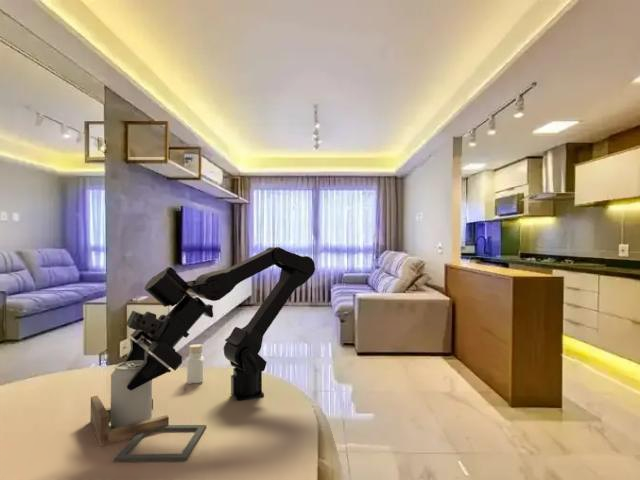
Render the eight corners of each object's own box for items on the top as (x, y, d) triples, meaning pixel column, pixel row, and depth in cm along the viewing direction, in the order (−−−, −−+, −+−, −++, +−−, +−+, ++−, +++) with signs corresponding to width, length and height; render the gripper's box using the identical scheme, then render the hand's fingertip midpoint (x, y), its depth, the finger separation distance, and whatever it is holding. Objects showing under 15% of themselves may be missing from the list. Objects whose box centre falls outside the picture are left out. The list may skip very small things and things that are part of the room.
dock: (151, 407, 86) (151, 384, 86) (168, 427, 76) (168, 401, 76) (90, 421, 79) (90, 396, 79) (100, 446, 69) (100, 417, 69)
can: (120, 436, 73) (120, 371, 73) (104, 424, 78) (104, 364, 78) (158, 422, 78) (159, 362, 79) (141, 412, 83) (142, 356, 84)
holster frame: (145, 428, 76) (145, 425, 76) (206, 427, 76) (206, 424, 76) (113, 461, 64) (113, 457, 64) (186, 461, 64) (186, 457, 64)
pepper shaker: (188, 379, 104) (188, 344, 105) (203, 378, 105) (203, 343, 106) (186, 384, 100) (187, 347, 101) (202, 383, 101) (203, 346, 102)
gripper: (141, 292, 88) (84, 348, 81) (165, 300, 73) (98, 370, 66) (176, 323, 93) (125, 379, 86) (205, 336, 78) (147, 405, 71)
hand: (123, 382), depth 77 cm, fingers open, 9 cm apart
